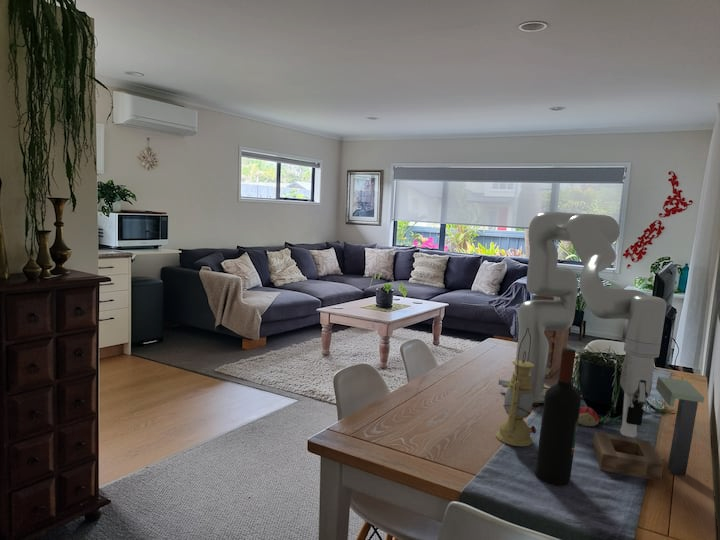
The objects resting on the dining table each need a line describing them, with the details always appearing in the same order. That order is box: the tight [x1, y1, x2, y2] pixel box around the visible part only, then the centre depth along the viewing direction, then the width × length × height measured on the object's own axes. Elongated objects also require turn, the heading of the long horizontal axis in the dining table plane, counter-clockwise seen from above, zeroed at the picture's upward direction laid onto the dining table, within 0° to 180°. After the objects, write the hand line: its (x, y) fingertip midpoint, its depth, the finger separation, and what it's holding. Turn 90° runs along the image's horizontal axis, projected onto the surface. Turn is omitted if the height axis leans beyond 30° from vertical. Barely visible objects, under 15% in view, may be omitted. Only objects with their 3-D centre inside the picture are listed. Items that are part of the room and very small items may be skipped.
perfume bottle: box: [619, 391, 638, 438], centre depth 128 cm, size 5×4×15 cm
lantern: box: [495, 328, 537, 447], centre depth 137 cm, size 12×10×30 cm
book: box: [533, 295, 571, 379], centre depth 202 cm, size 25×9×30 cm, turn 147°
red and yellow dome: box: [578, 406, 600, 428], centre depth 155 cm, size 7×10×4 cm
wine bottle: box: [534, 347, 582, 487], centre depth 119 cm, size 8×8×30 cm
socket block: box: [591, 431, 664, 482], centre depth 130 cm, size 13×13×4 cm
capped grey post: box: [655, 376, 705, 477], centre depth 127 cm, size 7×12×21 cm, turn 164°
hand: (631, 418), depth 129 cm, fingers closed on perfume bottle, 4 cm apart
